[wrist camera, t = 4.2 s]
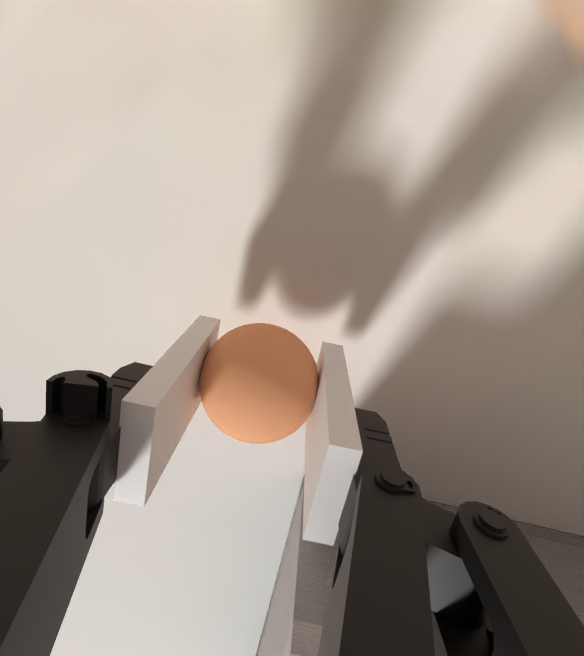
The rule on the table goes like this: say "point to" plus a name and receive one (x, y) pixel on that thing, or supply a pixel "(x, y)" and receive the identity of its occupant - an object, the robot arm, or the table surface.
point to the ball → (258, 383)
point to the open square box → (316, 564)
